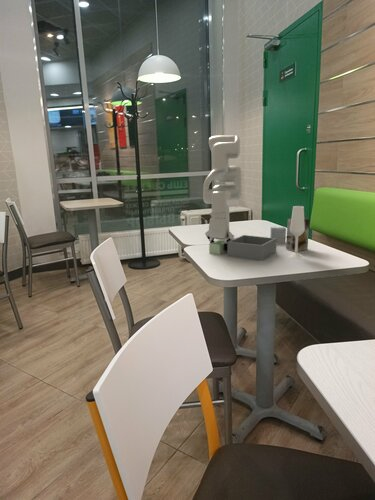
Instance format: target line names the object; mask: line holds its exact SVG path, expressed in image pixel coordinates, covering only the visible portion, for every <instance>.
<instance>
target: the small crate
mask: <svg viewBox="0 0 375 500" xmlns="http://www.w3.org/2000/svg"><path fill="white" fill-rule="evenodd" d="M214 241H215V242H213V243H210V242H209V244H208V245H209V246H208V250H209V254H213V253H215V255H221V253H222V254H224V253H226V252H228V250H227V251H224V243H225V241H224V239H218V240H214Z"/></svg>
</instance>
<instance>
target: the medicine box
mask: <svg viewBox="0 0 375 500" xmlns="http://www.w3.org/2000/svg"><path fill="white" fill-rule="evenodd" d="M269 235H270V237H269V238H277V241H276V244H286V240H287V229H286V226H271V227H270V234H269Z"/></svg>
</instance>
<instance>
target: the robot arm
mask: <svg viewBox="0 0 375 500" xmlns="http://www.w3.org/2000/svg"><path fill="white" fill-rule="evenodd" d="M208 147H209V150H210V151H211V154H212V155H211V157H212V158H211V163H212V164H211V171H210V172H209V173H208V175H207V176H206V178H205V179H204V182H203V187H202V188H203V189H202V199H203V203H204V204H206V205H211V212H210V213H209V216H211V217H210V219H209V223H208V230H207V231H206V232H205V233H204V234H205V236H206V238H207V239H208V241H209V244H210V243H213V242H215V241H216V240H215V239H218V240H223V241H225V243H224V251H226V252H228V251H227V250H228V241H231V240H233V238H234V237H235V235H234V234H233V233H232V232H231V231H230V206H229V205H228V204H229V202H230V201H239V200H241V198H242V169H241V167H240V166H239V165H230V164H229V162H230V161H229V159H237V158H239V157H240V154H241V139H240V137H239V135H236V134H231V135H230V134H226V135H225V134H224V135H222V134H221V135H213V136H210V137H209V138H208ZM213 181H215V182H217V183H225V184H215V185H214V186H213V187H212V189H211V188H210V189H209V187H210V184H211V183H212V182H213ZM227 183H231V184H227Z"/></svg>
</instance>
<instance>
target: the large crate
mask: <svg viewBox="0 0 375 500" xmlns="http://www.w3.org/2000/svg"><path fill="white" fill-rule="evenodd" d="M276 241H277V238H270V237H267V236H259V235H258V236H257V235H248V234H247V235H246V234H244V235H240V236H239V237H236V238H234V239H232V240H231V241H228V251H227V257H232V258H238V259H247V260H253V261H260V262H263V261H264V260H266V259H268V258H269V257H272V256H273V255H275V254H277V243H276Z"/></svg>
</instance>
